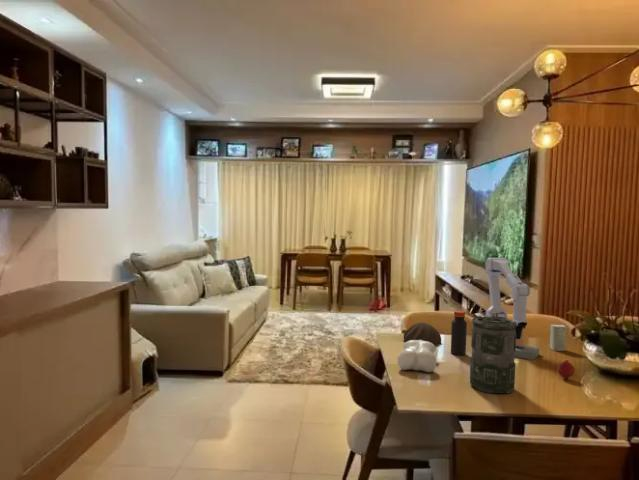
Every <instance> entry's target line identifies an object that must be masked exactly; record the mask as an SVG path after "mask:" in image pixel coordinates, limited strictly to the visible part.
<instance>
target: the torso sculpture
mask: <svg viewBox="0 0 639 480" xmlns="http://www.w3.org/2000/svg"><path fill="white" fill-rule="evenodd" d="M436 350H437V347H436V345H435V346H434V345H433V344H432V343H430V342H428V341H422V340H410V341H407V342H404V344H403V349H402V350H401V351H400V352H399V354H398V356H397V365H398V367H399V368H400V369H401V370H403V371H407V370H408V371H409V370H413V371H422V372H425V373H432V372H434V370H435V369H436V367H437V357H436V356H435V354H434V353H435V352H436Z"/></svg>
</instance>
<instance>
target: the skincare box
mask: <svg viewBox="0 0 639 480" xmlns="http://www.w3.org/2000/svg"><path fill="white" fill-rule="evenodd" d="M549 325H550V327H549V329H550V330H549V332H550V333H549V335H550V336H549V349H550V350H552V351H556V352H557V351H559V352H560V351H561V352H563V351H565V352H566V349H567V348H566V346H567V345H566V344H567V326H566V325H564V324H549Z"/></svg>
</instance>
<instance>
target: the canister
mask: <svg viewBox="0 0 639 480" xmlns="http://www.w3.org/2000/svg"><path fill="white" fill-rule="evenodd" d="M493 313H494V314H492V315H491V317H485V316H482V315H479V316H474V317H473V318H472V320H471V323H472V328H471V342H470V343H471V344H470V345H471V346H470V347H471V348H472V349H471V356H470V360H469V361H470V363H469V365H470V367H469V384H470V385H471V386H472V387H474V388H475V389H477V390H479V391H480V392H483V393H487V394H509V393H513V391H514V389H515V383H516V382H515V381H516V362H515V357H514V356H515V351H516V329H515V328H516V327H517V324H516V322H513V320H511V319H509V318H508V319H506V318H504V317H498V313H499V312H493ZM494 315H496V316H494Z"/></svg>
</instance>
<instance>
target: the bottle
mask: <svg viewBox="0 0 639 480" xmlns="http://www.w3.org/2000/svg"><path fill="white" fill-rule="evenodd" d="M453 312H454V313H453V317H454V319H453V320H452V321H451V330H450V331H451V333H450V337H451V338H450V353H451V354H452V355H453V356H459V357H460V356H466V354H467V352H466V351H467V328H468V323H467V321H466V320H465V317H466V311H464V310H454V311H453Z"/></svg>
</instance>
